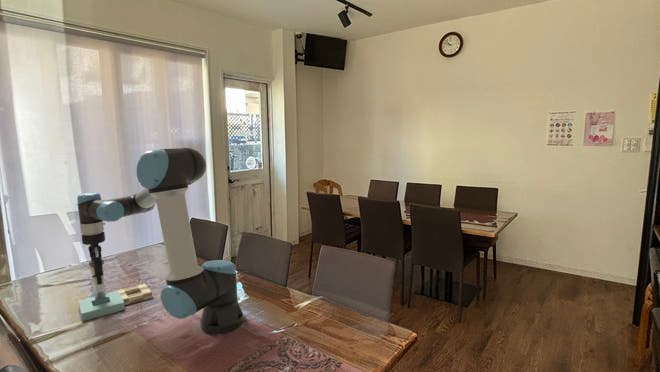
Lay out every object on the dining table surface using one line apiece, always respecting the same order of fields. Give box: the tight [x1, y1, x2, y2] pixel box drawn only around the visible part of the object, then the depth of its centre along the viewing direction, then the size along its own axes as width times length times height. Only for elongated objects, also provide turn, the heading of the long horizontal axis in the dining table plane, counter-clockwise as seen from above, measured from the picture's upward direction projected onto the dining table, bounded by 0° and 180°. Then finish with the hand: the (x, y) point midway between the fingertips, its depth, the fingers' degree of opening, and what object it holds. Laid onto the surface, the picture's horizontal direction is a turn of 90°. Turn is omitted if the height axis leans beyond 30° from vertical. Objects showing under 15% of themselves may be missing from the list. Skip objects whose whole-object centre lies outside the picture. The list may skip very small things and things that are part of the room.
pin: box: [88, 258, 107, 300], centre depth 143 cm, size 5×5×15 cm
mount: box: [116, 283, 153, 306], centre depth 154 cm, size 12×12×2 cm
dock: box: [78, 290, 126, 322], centre depth 144 cm, size 14×14×3 cm
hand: (99, 289), depth 143 cm, fingers closed on pin, 4 cm apart
